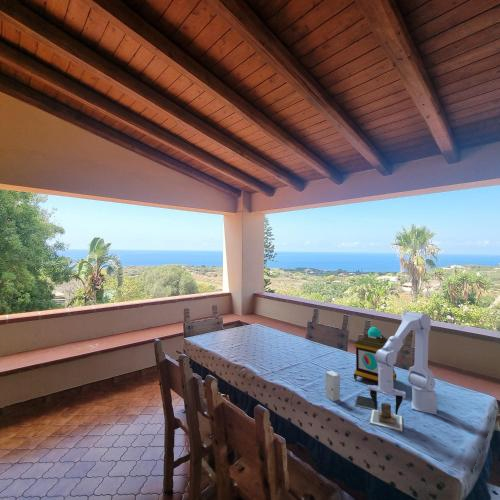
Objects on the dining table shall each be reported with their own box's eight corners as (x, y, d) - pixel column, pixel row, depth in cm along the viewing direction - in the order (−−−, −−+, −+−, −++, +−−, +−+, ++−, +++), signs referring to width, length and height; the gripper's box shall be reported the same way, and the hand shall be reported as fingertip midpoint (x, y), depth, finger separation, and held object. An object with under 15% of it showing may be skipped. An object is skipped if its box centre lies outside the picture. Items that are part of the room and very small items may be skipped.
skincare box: (324, 396, 139) (324, 371, 140) (332, 394, 141) (331, 370, 142) (333, 401, 134) (333, 376, 134) (340, 400, 136) (340, 374, 136)
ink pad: (376, 401, 134) (376, 399, 134) (375, 410, 126) (375, 407, 126) (357, 397, 138) (357, 394, 138) (354, 405, 130) (354, 402, 130)
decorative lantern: (400, 380, 158) (399, 327, 160) (387, 391, 145) (386, 333, 146) (365, 370, 173) (364, 321, 174) (350, 379, 159) (349, 326, 160)
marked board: (402, 417, 121) (402, 415, 121) (402, 432, 110) (402, 430, 110) (372, 410, 126) (372, 409, 126) (369, 423, 116) (369, 422, 116)
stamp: (393, 417, 120) (393, 402, 120) (394, 424, 115) (394, 409, 115) (378, 414, 122) (378, 400, 123) (378, 421, 117) (378, 406, 117)
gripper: (366, 378, 119) (366, 411, 118) (405, 385, 112) (406, 420, 112) (367, 372, 125) (368, 403, 125) (404, 379, 118) (405, 412, 118)
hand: (386, 411), depth 118 cm, fingers open, 7 cm apart
